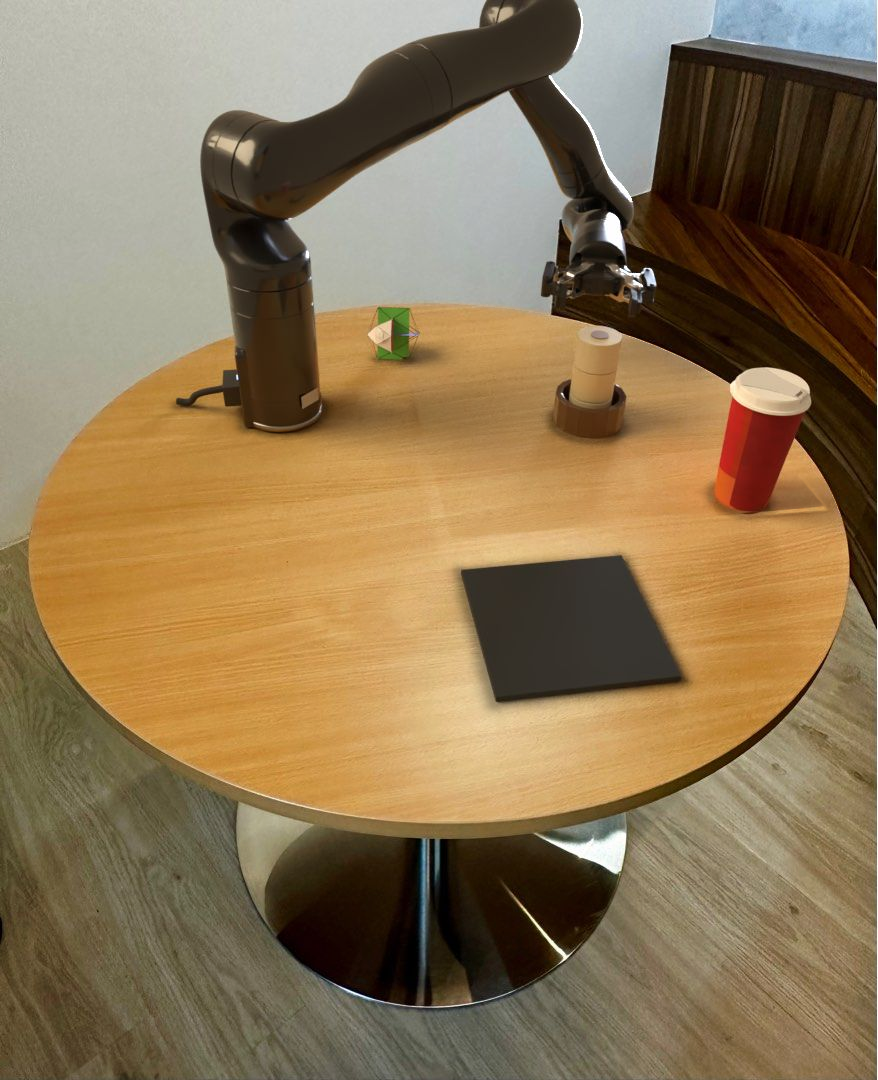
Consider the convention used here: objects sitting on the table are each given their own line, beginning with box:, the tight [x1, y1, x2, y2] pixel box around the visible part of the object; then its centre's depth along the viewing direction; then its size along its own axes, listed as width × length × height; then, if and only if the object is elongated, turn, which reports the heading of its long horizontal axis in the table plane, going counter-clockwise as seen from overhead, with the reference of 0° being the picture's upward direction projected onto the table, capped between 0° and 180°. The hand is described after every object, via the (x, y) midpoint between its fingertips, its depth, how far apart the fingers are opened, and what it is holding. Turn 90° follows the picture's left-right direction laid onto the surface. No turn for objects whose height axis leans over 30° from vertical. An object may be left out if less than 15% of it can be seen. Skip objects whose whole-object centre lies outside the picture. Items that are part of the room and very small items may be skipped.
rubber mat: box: [460, 554, 683, 702], centre depth 79 cm, size 16×16×1 cm
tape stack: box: [569, 325, 623, 409], centre depth 103 cm, size 5×5×11 cm
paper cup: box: [714, 366, 812, 515], centre depth 91 cm, size 8×8×14 cm
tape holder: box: [552, 378, 628, 439], centre depth 105 cm, size 8×8×4 cm
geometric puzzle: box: [365, 306, 421, 361], centre depth 117 cm, size 7×7×8 cm
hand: (598, 307), depth 108 cm, fingers open, 8 cm apart
